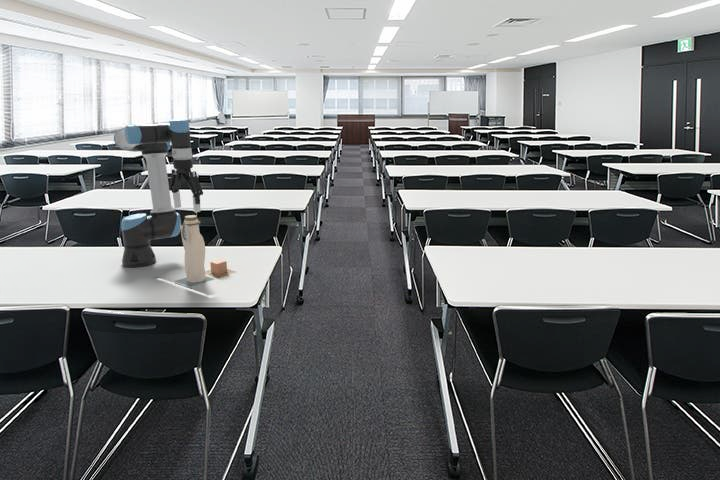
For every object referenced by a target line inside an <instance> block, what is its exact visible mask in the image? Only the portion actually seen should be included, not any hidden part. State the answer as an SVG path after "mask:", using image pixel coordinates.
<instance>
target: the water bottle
mask: <svg viewBox="0 0 720 480" xmlns="http://www.w3.org/2000/svg"><path fill="white" fill-rule="evenodd" d="M200 224H201V221H200V220H199V219H198V215H195V214H192V215H185V216H184V220H183V223H182V224H181V225H180V228H181V229H180V235H181V240H182V241H181V243H182V246H183V249H184V269H185V275H186V277H187V280H188V282H192V283H196V282H202V281H204V280H206V276H207V274H205V271H206V269H205V260H206V245H205V244H206V243H205V240H204V236H203V235H202V234H201V233H200Z"/></svg>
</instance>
